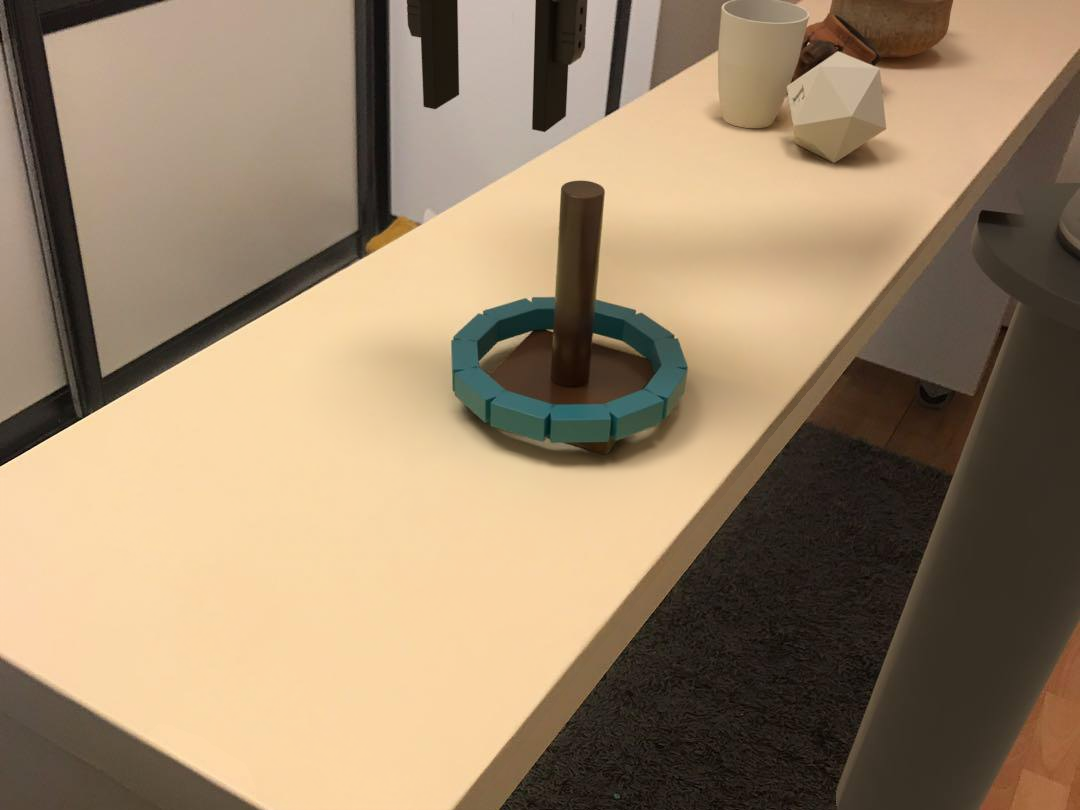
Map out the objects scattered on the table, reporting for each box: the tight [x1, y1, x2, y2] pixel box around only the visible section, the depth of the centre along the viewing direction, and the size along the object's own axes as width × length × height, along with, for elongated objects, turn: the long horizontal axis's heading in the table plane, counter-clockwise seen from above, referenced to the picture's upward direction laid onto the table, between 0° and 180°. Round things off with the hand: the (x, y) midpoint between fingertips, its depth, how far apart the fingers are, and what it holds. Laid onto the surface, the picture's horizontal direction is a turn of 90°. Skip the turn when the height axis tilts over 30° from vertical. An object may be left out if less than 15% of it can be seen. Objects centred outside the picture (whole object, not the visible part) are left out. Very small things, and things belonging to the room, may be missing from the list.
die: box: [787, 51, 887, 164], centre depth 98 cm, size 8×9×10 cm
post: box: [471, 180, 655, 456], centre depth 62 cm, size 9×9×14 cm
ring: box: [450, 296, 689, 444], centre depth 65 cm, size 14×14×2 cm
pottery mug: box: [786, 12, 883, 95], centre depth 111 cm, size 12×10×8 cm
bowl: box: [828, 0, 954, 58], centre depth 123 cm, size 18×14×10 cm
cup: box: [717, 0, 810, 129], centre depth 102 cm, size 8×8×10 cm
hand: (494, 110), depth 58 cm, fingers open, 6 cm apart
